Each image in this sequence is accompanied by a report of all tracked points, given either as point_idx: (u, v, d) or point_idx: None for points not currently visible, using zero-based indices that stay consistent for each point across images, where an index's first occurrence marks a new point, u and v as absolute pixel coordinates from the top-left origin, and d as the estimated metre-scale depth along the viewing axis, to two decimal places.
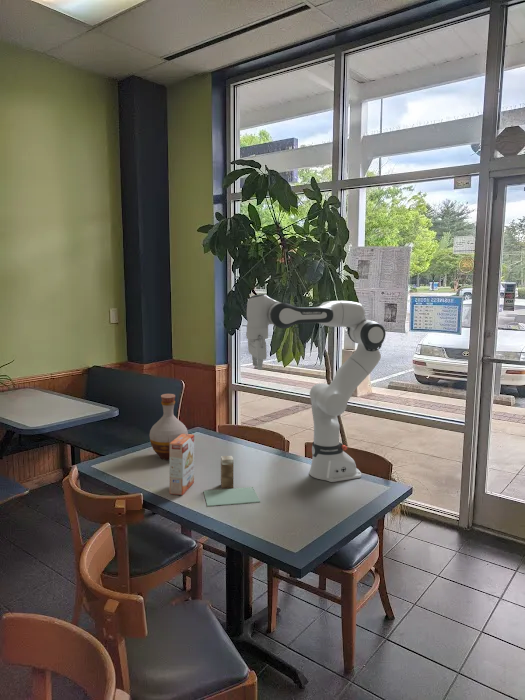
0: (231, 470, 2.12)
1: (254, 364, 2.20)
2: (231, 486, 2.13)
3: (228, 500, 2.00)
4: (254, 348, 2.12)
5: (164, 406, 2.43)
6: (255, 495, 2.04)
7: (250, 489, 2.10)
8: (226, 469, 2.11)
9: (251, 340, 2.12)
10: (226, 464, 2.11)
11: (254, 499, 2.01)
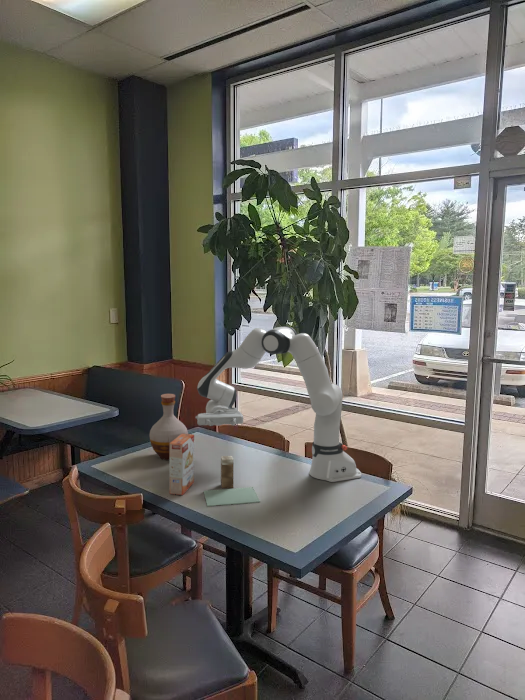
0: (231, 470, 2.12)
1: (231, 423, 2.26)
2: (231, 486, 2.13)
3: (228, 500, 2.00)
4: None
5: (164, 406, 2.43)
6: (255, 495, 2.04)
7: (250, 489, 2.10)
8: (226, 469, 2.11)
9: None
10: (226, 464, 2.11)
11: (254, 499, 2.01)
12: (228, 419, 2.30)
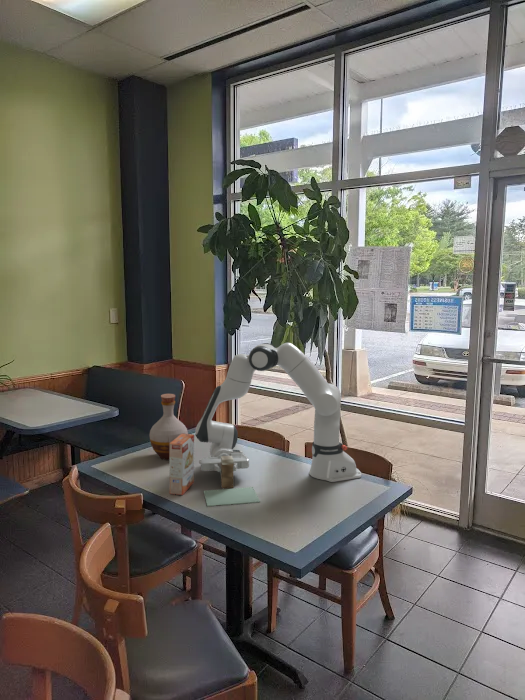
0: (231, 470, 2.12)
1: None
2: (231, 486, 2.13)
3: (228, 500, 2.00)
4: None
5: (164, 406, 2.43)
6: (255, 495, 2.04)
7: (250, 489, 2.10)
8: (226, 469, 2.11)
9: None
10: (226, 464, 2.11)
11: (254, 499, 2.01)
12: (233, 464, 2.19)
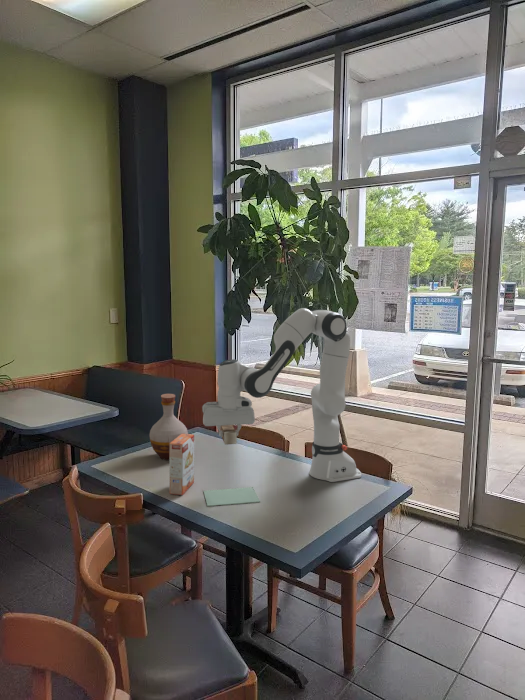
0: None
1: None
2: None
3: (228, 500, 2.00)
4: None
5: (164, 406, 2.43)
6: (255, 495, 2.04)
7: (250, 489, 2.10)
8: None
9: None
10: None
11: (254, 499, 2.01)
12: None
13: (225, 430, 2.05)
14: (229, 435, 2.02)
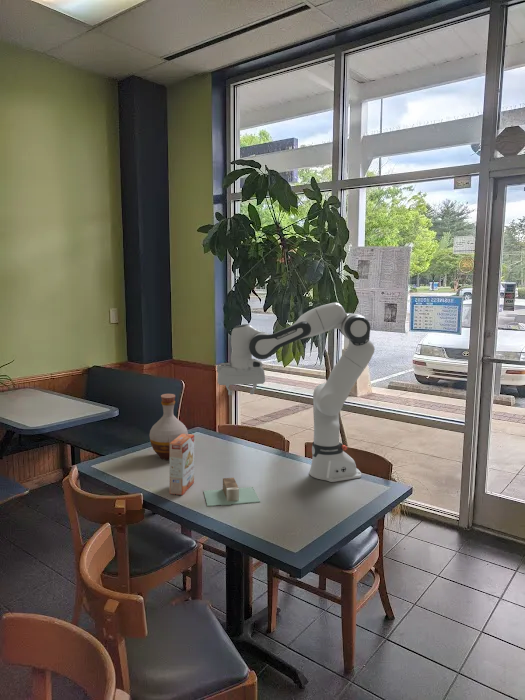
0: None
1: (250, 392, 2.25)
2: None
3: None
4: None
5: (164, 406, 2.43)
6: (255, 495, 2.04)
7: (250, 489, 2.10)
8: None
9: None
10: None
11: (254, 499, 2.01)
12: None
13: (227, 486, 2.02)
14: (231, 492, 1.99)
